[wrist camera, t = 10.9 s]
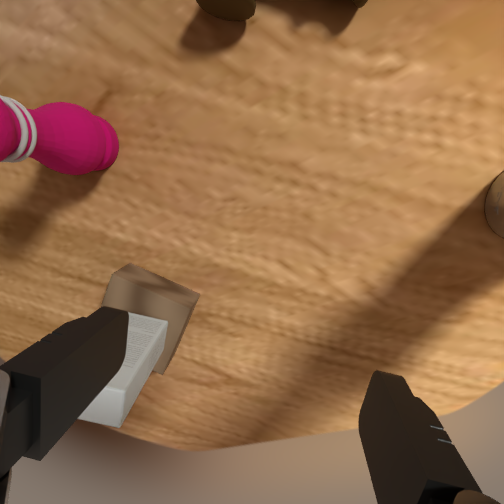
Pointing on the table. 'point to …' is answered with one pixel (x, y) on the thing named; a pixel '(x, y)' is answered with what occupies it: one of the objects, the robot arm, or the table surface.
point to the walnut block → (153, 304)
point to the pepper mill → (56, 137)
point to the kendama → (239, 8)
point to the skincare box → (129, 371)
